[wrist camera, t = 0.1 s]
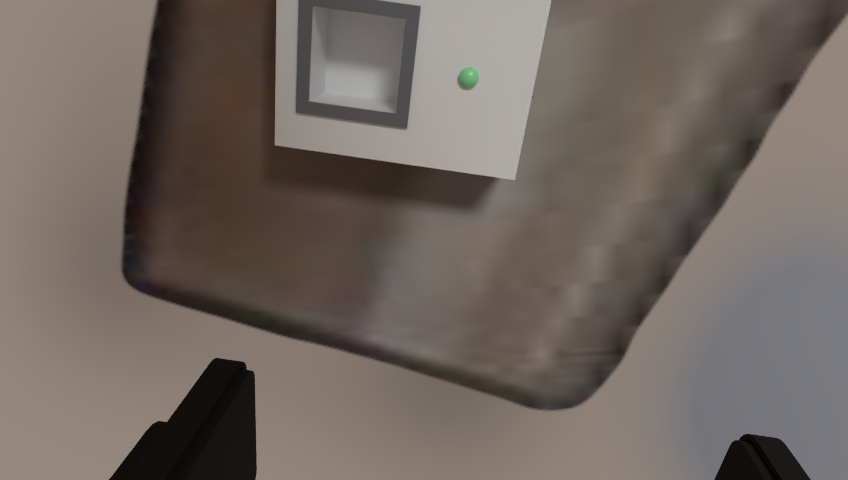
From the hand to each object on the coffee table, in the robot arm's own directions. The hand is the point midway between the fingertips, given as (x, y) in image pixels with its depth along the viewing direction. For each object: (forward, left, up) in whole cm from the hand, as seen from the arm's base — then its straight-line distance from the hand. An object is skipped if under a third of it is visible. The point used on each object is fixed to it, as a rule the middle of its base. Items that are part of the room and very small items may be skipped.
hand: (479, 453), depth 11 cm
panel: (-4, -5, -31) cm, 32 cm away
